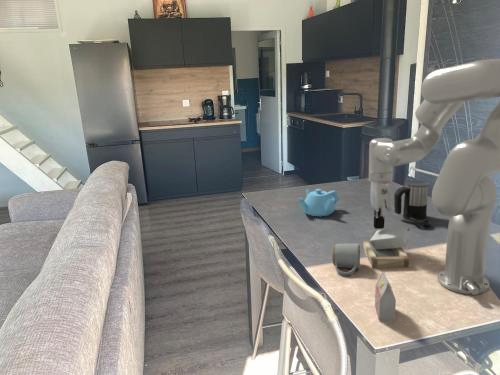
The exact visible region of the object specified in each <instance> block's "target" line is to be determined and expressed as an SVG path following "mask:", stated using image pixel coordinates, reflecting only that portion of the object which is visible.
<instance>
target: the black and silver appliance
mask: <svg viewBox="0 0 500 375" xmlns="http://www.w3.org/2000/svg"><path fill="white" fill-rule="evenodd" d="M404 184H405V186H402V187H399V188H397V189H396V191H395V192H394V197H393V198H394V199H393V200H394V201H393V202H394V206H393V207H394V213H395V214H396V215H401V214H402V213H403V214H402V217H403V218H404V219H406V220H409V221H412V222H417V223H418V224H421V225H422V226H424V227H428V226H432V225H433V224H432V222H431V221H430V220H429V219H427V218H428V217H427V207H428V206H427V205H428V196H429V195H428V194H429V186H430V182H427V181H426V180H425V181H424V180H406V181H405V182H404ZM403 195H404V199H403V212H402V198H403V197H402V196H403Z"/></svg>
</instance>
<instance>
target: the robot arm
mask: <svg viewBox="0 0 500 375" xmlns="http://www.w3.org/2000/svg"><path fill="white" fill-rule="evenodd" d="M420 92H421V96H422V98H423V101H422V102H421V103H420V105H419V106H418V107H417V108H416V110H415V112H414V114H415V115H414V116H415V118H416V120H417V122H418V123H420V127H419V129H418V130H417V131H415V133H414V134H413V136H411V137H410V138H405V139H399V140H394V141H393V139H391V138H385V137H379V138H373V139H371V140H370V141H369V148H368V181H369V182H370V196H369V198H370V205H371V206H372V207H373V228H374V229H376V230H379V229H380V230H384V228H385V217H386V210H387V211H388V212H391V211H392V184H391V183H392V182H393V176H394V175H393V174H394V172H393V171H394V167H398V166H403V165H406V164H407V165H408V164H412V163H416V162H419V161H421V160H423V158H425V157H426V156H427V155H428V154H429V153H430V152H431V151H432V150H433V149H435V148H434V147H436V145H437V144H438V142H440V141H439V140H440V139H441V136H442V132H443V127H444V126H445V125H446V124H447V122H449V121H450V119H452V117H453V116H454V115H455V113H456V112H458V110H459V109H460V108H461V107H462V106H463V104H464V103H466V101H474V100H475V101H476V100H484V99H485V100H486V99H494V98H500V58H491V59H490V58H489V59H488V58H487V59H481V60H480V59H479V60H475V61H472V62H466V63H462V64H458V65H453V66H449V67H442V68H438V69H435V70H432V71H431V72H429V74H427V75H426V76H425V78H424V79H423V81H422V84H421V88H420ZM498 173H500V100H499V101H498V103H497V104H496V105H495V107H494V108H493V109H491V112H490V113H489V114H488V116H487V118H486V120H485V122H484V125H483V127H482V129H481V131H480V132H479V133H478V135H477V136H476V137H475V138H472V139H468V140H464V141H462V142H459V143H458V144H456V145H454V146H453V147H452V149H451V150H450V151H449V153H448V154H447V156H446V158H445V160H444V162H443V165H442V166H441V169H440V171H439V174H438V176H437V178H436V179H435V180H436V181H435V182H434V185H433V188H432V190H431V203H432V206H433V207H434V209H435V210H436V212H438V213H439V214H441V215H443V216H446V217H449V219H448V220H449V221H448V226H447V238H446V248H445V249H446V250H445V264H444V270H442V271H439V273H438V275H437V281H438V283H439V284H440V285H442V287H444V288H445V289H448V290H449V291H452V292H455V293H458V294H465V295H473V296H474V295H475V296H476V295H481V294H484V293H486V292H488V291H489V290H490V282H489V280H488V279H487V278H486V277H485V276H484V275H485V267H486V258H487V248H488V240H489V233H490V225H491V219H492V216H493V210H494V208H495V204H496V202H497V196H498V189H497V184H496V183H495V180H493V179H492V177H490V176H492V175H495V174H498Z"/></svg>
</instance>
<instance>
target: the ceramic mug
mask: <svg viewBox="0 0 500 375" xmlns="http://www.w3.org/2000/svg"><path fill="white" fill-rule="evenodd" d="M360 248H361V247H360V243H359V242H358V243H355V242H354V243H336V244H334V245H333V246H332V264H333V266H335V271H336V273H337V274H338V275H339V276H345V277H348V276H351V275H352V274H354V273H355V270H359V269H360V266H361V253H360V252H361V250H360ZM339 268H348V269H351V270H348V271H345V272H344V271H342V270H340V269H339Z"/></svg>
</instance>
